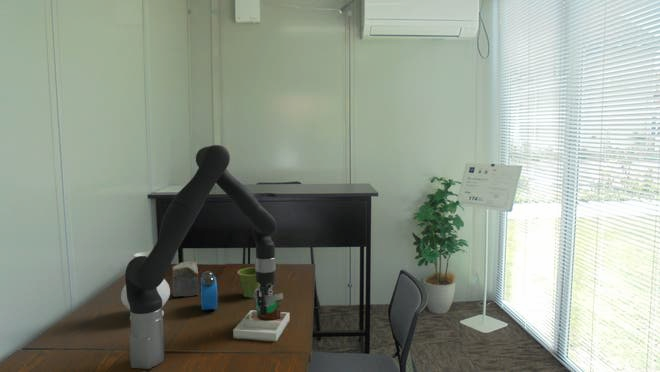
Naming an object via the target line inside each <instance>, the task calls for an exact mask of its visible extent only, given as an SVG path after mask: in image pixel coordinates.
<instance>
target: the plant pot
mask: <svg viewBox="0 0 660 372" xmlns="http://www.w3.org/2000/svg"><path fill="white" fill-rule="evenodd" d="M237 275H238V276H239V280H240V285H241V291H242V294H243V295H242V296H243V297H244V298H249V299H255V298H254V292H255V290H256V289H257V288H258V290H259V287H260V283H257V282H256V272H255V267H244V268H241V269H239V270H238V271H237Z"/></svg>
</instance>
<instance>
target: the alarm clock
mask: <svg viewBox="0 0 660 372" xmlns="http://www.w3.org/2000/svg"><path fill="white" fill-rule="evenodd" d="M199 290H200V291H199V294H200V303H201V306H200V307H201V310H202V311H206V310H207V311H208V310H214V312H215V311H216V309H217V308H218V284H217V278H216V276H215V275H214V273H213V271H210V270H206V271H204V272H202V274H201V278H200V288H199Z"/></svg>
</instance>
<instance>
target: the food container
mask: <svg viewBox="0 0 660 372" xmlns="http://www.w3.org/2000/svg"><path fill="white" fill-rule="evenodd" d="M257 291H259V290H258V288H257V289H256V290H255V292H254V298H253V299H255V309H256V311H257V317H258V319H260V320H264V321H272V320H276V319H279V318H280V313H281V312H282V300H283V299H284V294H283V292H280V293H275V292H274V293H272V292H270V293H269V295H265V301H266V304H267V305H266V312H267V315H266V316H261V315H260V306H258V301H257ZM262 303H263V301H262Z"/></svg>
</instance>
